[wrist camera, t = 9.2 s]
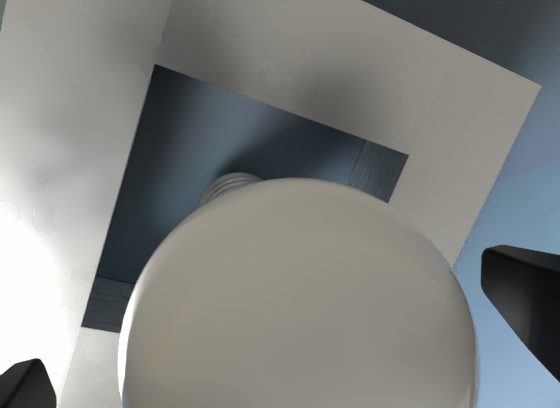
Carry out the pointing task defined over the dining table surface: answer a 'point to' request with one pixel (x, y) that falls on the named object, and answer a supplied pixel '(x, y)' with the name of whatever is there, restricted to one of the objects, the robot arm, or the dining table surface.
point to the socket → (237, 78)
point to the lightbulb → (297, 306)
